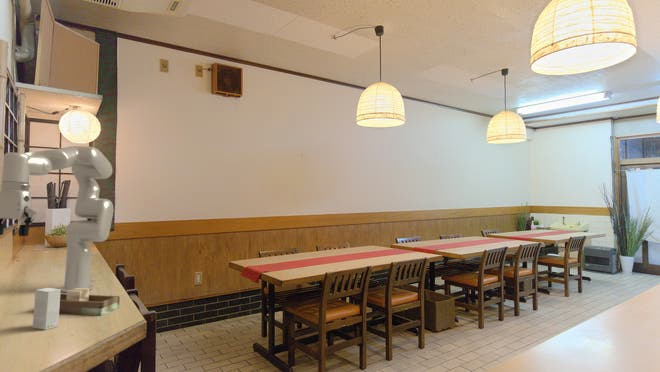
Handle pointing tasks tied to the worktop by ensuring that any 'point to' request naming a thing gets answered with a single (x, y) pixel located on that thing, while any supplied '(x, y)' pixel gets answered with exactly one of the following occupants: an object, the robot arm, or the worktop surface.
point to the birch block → (78, 294)
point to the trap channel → (89, 305)
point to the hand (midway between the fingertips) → (10, 235)
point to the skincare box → (46, 308)
